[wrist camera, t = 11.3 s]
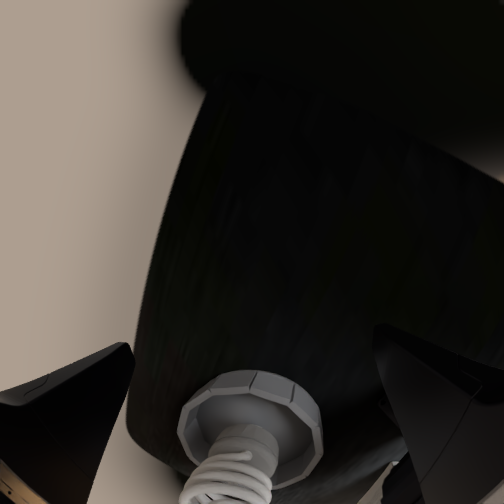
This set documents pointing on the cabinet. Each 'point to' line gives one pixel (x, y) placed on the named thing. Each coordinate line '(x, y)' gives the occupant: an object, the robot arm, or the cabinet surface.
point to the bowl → (256, 420)
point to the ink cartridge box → (376, 488)
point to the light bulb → (235, 468)
